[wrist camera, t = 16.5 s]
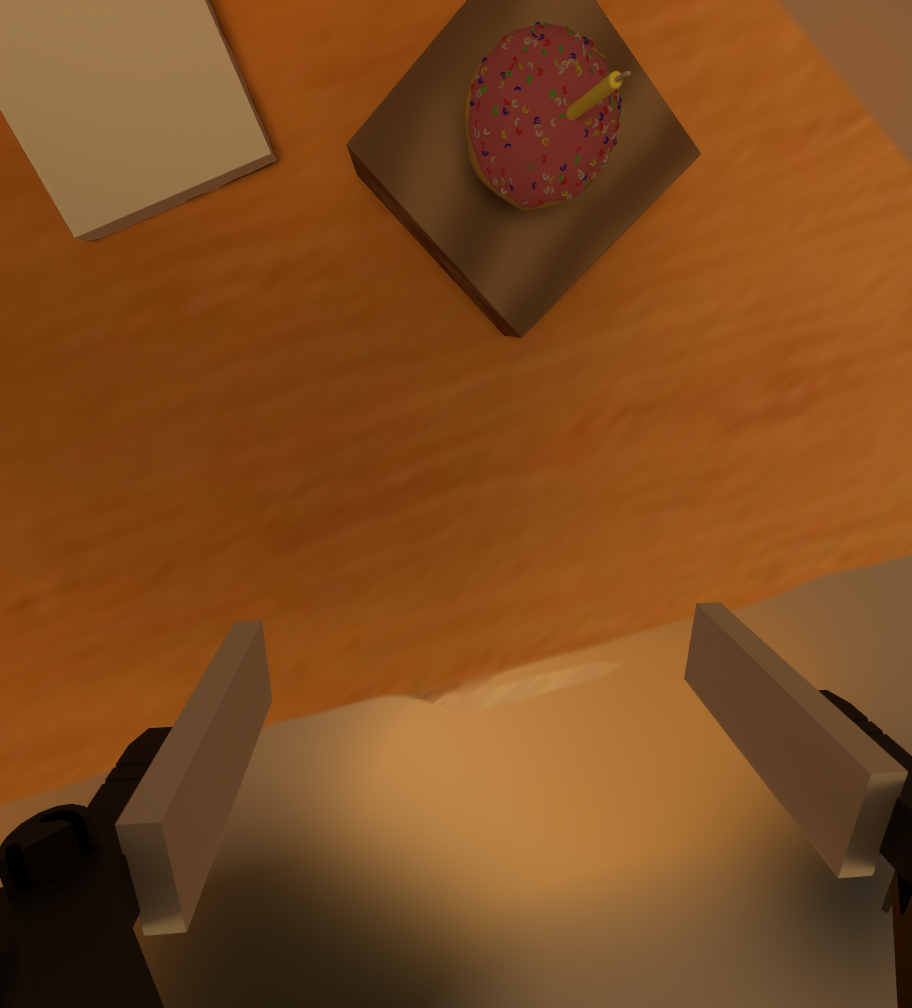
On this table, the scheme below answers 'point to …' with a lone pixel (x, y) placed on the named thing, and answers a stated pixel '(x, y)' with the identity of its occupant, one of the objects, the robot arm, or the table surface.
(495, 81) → the cupcake
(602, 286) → the table surface
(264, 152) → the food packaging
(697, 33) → the table surface
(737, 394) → the table surface
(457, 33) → the riser
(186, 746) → the robot arm
